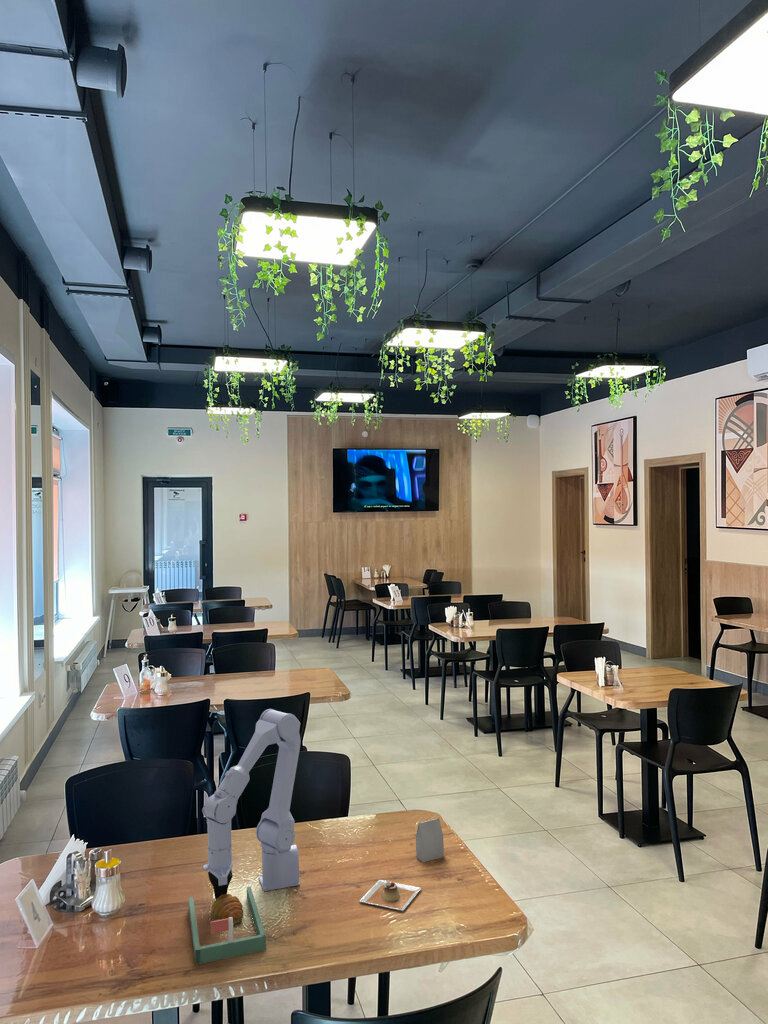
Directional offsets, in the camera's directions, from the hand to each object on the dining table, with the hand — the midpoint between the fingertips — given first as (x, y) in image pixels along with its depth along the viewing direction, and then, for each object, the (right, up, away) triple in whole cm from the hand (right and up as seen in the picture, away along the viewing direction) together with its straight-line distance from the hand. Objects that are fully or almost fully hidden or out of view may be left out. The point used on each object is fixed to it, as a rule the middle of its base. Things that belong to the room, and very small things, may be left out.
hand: (220, 902), depth 176 cm
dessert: (+42, -1, +3) cm, 42 cm away
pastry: (+3, -1, -4) cm, 5 cm away
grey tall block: (+53, -1, +24) cm, 58 cm away
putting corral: (+3, -1, -10) cm, 11 cm away
